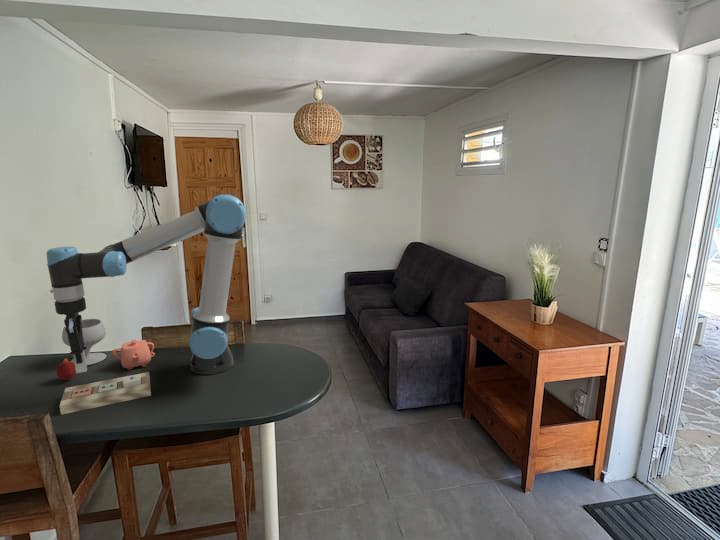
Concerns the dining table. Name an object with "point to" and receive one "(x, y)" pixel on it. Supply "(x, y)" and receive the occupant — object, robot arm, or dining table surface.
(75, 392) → the key three
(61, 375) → the onion
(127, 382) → the key one
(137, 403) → the dining table surface
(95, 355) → the chalice
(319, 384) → the dining table surface
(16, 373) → the dining table surface
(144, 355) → the teapot
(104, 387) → the key two
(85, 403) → the key board
